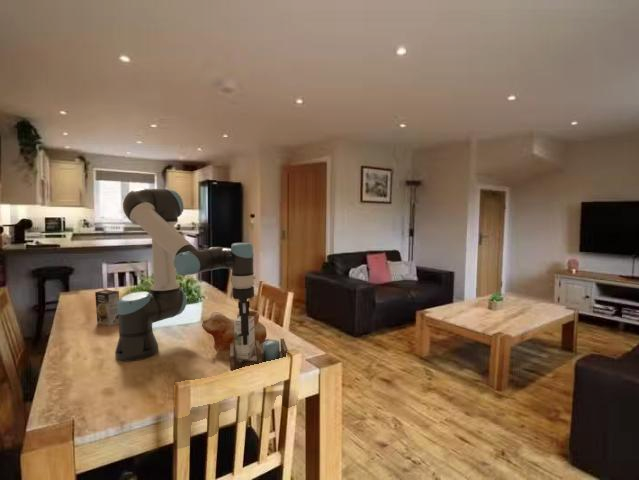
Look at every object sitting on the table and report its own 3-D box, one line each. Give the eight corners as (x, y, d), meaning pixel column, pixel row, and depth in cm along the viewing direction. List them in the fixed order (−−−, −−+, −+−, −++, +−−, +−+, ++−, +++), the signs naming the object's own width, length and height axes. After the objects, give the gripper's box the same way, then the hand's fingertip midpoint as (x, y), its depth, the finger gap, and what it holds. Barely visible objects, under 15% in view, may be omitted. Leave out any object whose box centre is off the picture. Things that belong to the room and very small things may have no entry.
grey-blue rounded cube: (264, 362, 130) (263, 346, 129) (262, 356, 136) (262, 340, 135) (280, 361, 131) (280, 344, 131) (278, 354, 137) (278, 338, 136)
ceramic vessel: (200, 345, 151) (199, 310, 149) (261, 335, 162) (261, 302, 160) (205, 357, 138) (203, 319, 137) (271, 345, 149) (270, 310, 148)
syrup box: (255, 354, 134) (254, 315, 132) (250, 360, 128) (248, 320, 127) (240, 353, 135) (239, 315, 133) (234, 359, 129) (233, 320, 127)
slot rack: (230, 373, 124) (229, 356, 124) (230, 359, 136) (230, 343, 136) (288, 367, 129) (287, 350, 128) (283, 353, 141) (283, 338, 140)
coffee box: (96, 324, 180) (94, 292, 178) (108, 320, 186) (106, 289, 184) (109, 326, 176) (107, 293, 175) (121, 322, 182) (119, 290, 181)
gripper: (255, 292, 120) (257, 358, 122) (252, 280, 139) (254, 337, 142) (232, 293, 118) (234, 361, 120) (232, 281, 138) (234, 339, 140)
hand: (245, 348), depth 131 cm, fingers closed on syrup box, 7 cm apart
